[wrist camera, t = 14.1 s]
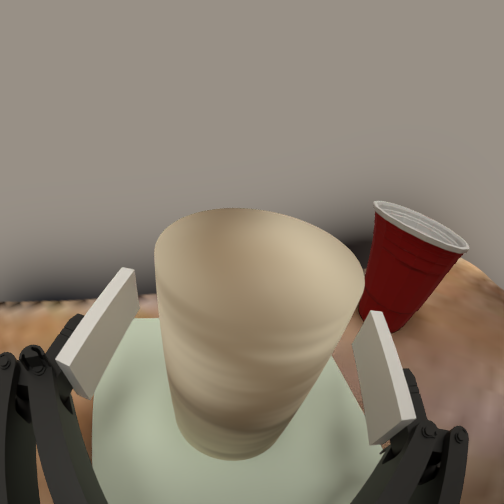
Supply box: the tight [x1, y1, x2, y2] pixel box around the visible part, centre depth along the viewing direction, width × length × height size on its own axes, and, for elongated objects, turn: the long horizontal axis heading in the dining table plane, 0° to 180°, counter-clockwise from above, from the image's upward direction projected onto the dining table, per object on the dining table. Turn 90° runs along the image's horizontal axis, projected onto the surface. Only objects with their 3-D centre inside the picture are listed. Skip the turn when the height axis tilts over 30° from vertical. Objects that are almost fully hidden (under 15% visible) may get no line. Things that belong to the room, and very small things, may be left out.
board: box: [92, 318, 384, 504], centre depth 15 cm, size 18×18×2 cm
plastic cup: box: [359, 201, 469, 333], centre depth 25 cm, size 11×11×12 cm
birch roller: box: [154, 208, 365, 461], centre depth 12 cm, size 7×7×12 cm
